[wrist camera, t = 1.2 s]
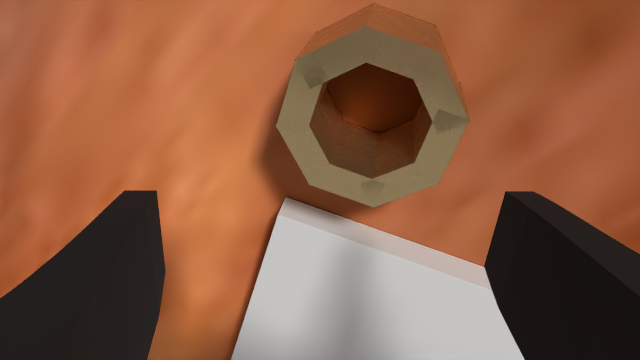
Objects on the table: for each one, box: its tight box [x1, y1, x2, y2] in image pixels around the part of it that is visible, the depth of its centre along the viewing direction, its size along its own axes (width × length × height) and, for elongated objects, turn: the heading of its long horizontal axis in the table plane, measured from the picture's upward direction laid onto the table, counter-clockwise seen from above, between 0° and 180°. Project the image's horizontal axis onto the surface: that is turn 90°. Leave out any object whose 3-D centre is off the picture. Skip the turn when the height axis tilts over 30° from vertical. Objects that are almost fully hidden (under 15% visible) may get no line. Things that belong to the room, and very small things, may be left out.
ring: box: [276, 3, 469, 208], centre depth 19 cm, size 6×6×4 cm
